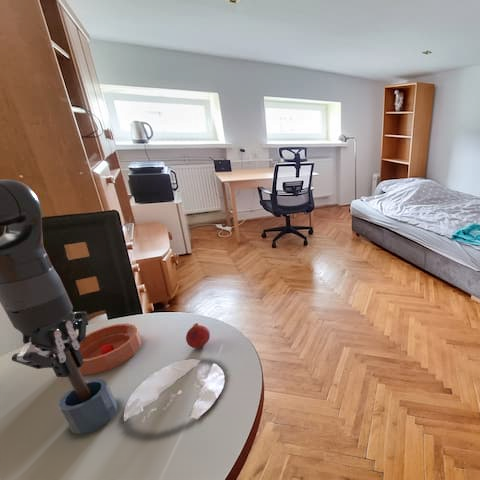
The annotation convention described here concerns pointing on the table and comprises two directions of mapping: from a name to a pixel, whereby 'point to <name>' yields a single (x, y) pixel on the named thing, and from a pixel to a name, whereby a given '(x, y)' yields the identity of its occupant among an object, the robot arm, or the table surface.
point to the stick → (77, 379)
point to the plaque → (166, 378)
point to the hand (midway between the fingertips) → (72, 370)
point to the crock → (88, 407)
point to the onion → (197, 336)
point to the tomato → (107, 348)
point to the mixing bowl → (117, 335)
